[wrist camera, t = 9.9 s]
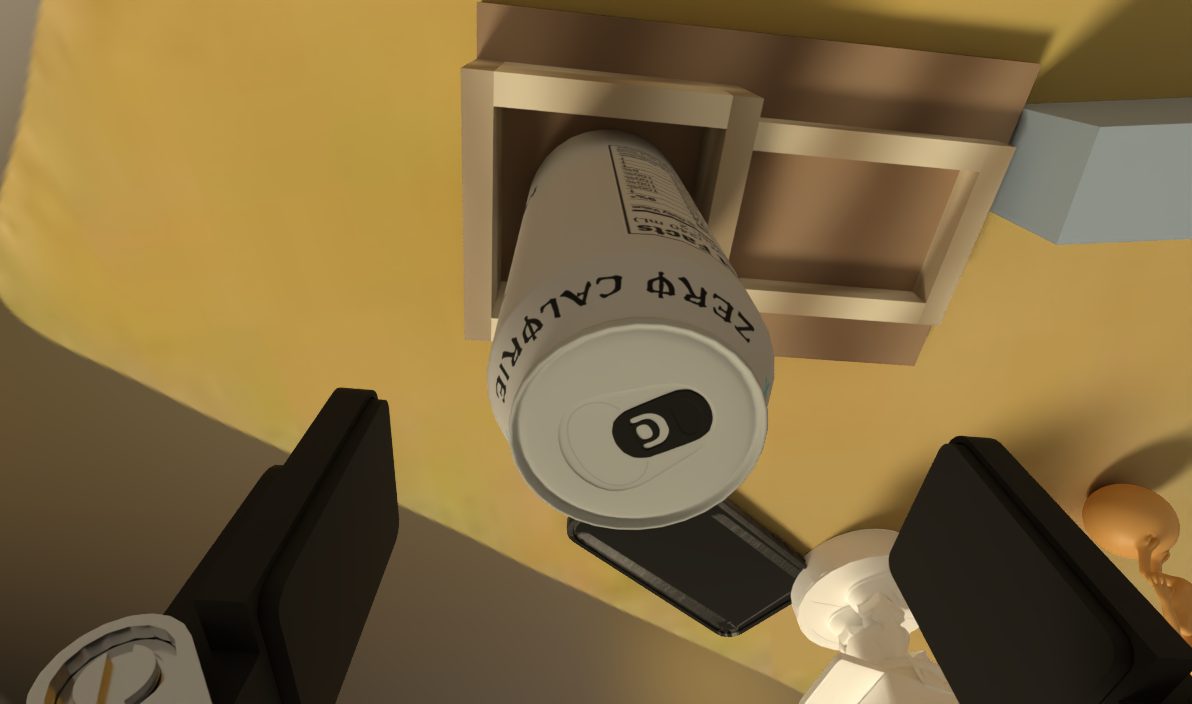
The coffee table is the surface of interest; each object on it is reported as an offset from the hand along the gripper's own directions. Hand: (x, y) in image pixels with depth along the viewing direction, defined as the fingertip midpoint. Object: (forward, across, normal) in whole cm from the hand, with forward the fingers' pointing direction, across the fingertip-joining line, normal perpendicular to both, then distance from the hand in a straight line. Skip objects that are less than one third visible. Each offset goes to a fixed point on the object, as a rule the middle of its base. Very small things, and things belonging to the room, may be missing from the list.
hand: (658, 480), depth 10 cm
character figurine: (+18, -17, +22) cm, 33 cm away
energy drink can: (+16, +1, 0) cm, 16 cm away
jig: (+17, -4, 0) cm, 18 cm away
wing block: (+18, -19, -4) cm, 26 cm away
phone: (+18, -7, +20) cm, 28 cm away
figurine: (+18, -29, +15) cm, 37 cm away
